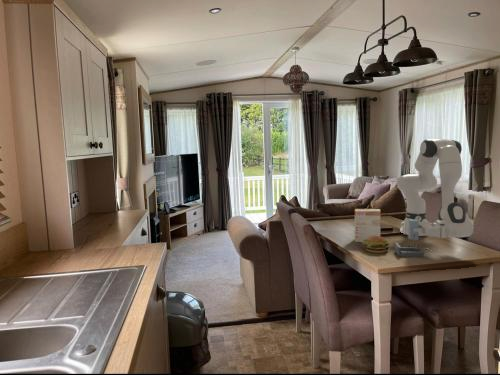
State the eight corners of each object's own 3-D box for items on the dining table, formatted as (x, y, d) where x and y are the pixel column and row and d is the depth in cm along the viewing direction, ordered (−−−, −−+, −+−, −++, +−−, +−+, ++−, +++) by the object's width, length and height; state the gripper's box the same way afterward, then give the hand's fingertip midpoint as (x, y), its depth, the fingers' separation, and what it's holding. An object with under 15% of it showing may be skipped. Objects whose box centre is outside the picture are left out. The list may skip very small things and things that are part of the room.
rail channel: (395, 251, 214) (395, 242, 214) (419, 252, 212) (419, 243, 212) (398, 256, 205) (398, 247, 204) (423, 257, 203) (424, 247, 202)
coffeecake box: (379, 240, 239) (380, 208, 237) (380, 243, 233) (380, 211, 230) (354, 239, 243) (354, 208, 241) (354, 242, 237) (354, 210, 234)
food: (358, 247, 224) (358, 234, 223) (382, 246, 225) (382, 233, 224) (368, 254, 210) (368, 240, 209) (393, 253, 211) (393, 239, 211)
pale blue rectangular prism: (408, 237, 209) (408, 219, 208) (416, 237, 209) (416, 219, 208) (410, 239, 205) (410, 220, 204) (418, 239, 205) (418, 220, 204)
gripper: (433, 219, 214) (407, 218, 216) (446, 226, 194) (416, 226, 196) (433, 230, 215) (407, 230, 217) (445, 239, 195) (416, 238, 197)
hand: (411, 228), depth 207 cm, fingers closed on pale blue rectangular prism, 4 cm apart
